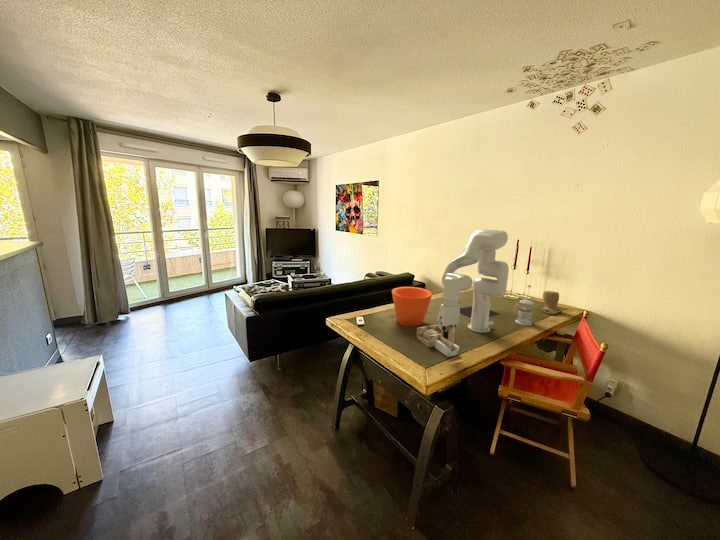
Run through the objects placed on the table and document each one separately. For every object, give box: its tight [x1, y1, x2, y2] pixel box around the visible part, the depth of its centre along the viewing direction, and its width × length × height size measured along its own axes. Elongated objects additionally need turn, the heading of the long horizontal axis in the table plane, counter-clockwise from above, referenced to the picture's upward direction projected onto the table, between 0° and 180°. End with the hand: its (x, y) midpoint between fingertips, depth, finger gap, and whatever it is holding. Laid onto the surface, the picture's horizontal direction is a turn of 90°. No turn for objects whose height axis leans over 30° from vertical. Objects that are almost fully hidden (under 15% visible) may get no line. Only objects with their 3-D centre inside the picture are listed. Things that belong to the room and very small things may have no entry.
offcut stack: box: [423, 329, 438, 341], centre depth 143 cm, size 5×7×6 cm
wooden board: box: [441, 326, 456, 351], centre depth 133 cm, size 2×7×12 cm, turn 22°
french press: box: [513, 284, 535, 326], centre depth 172 cm, size 10×12×25 cm
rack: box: [416, 323, 442, 348], centre depth 144 cm, size 14×11×7 cm
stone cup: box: [540, 290, 562, 315], centre depth 193 cm, size 15×12×15 cm
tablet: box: [460, 306, 502, 320], centre depth 191 cm, size 27×1×20 cm
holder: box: [433, 339, 460, 358], centre depth 134 cm, size 7×10×5 cm, turn 22°
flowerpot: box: [391, 286, 433, 328], centre depth 169 cm, size 25×25×20 cm
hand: (447, 337), depth 133 cm, fingers closed on wooden board, 2 cm apart
